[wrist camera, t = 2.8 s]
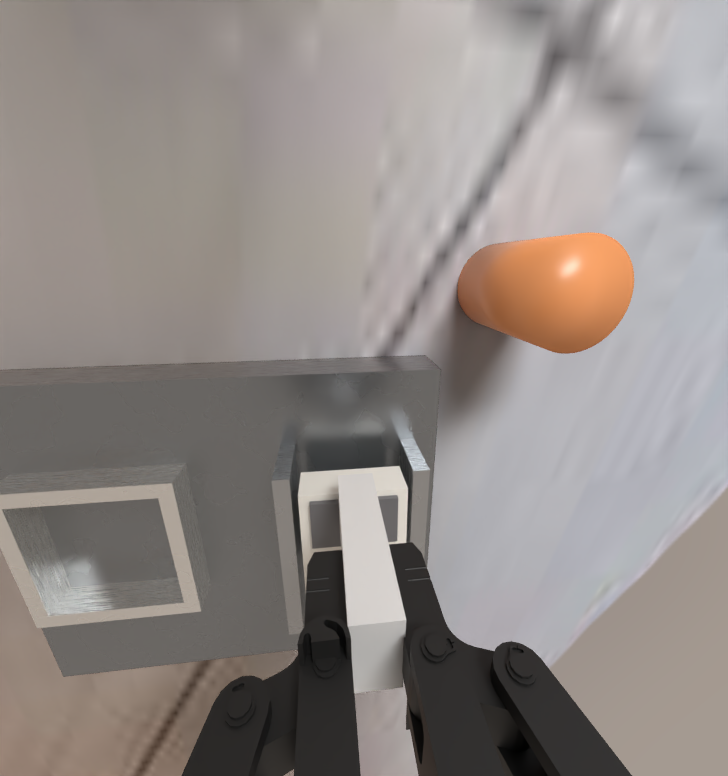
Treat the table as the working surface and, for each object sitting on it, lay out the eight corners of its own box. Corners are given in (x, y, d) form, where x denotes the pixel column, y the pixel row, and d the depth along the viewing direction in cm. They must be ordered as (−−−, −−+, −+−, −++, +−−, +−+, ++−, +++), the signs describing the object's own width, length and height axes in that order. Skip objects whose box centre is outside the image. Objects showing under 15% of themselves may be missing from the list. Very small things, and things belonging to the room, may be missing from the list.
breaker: (300, 472, 17) (297, 500, 15) (399, 465, 18) (409, 491, 16) (311, 608, 20) (309, 647, 18) (396, 599, 21) (404, 636, 18)
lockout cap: (461, 243, 19) (532, 232, 13) (539, 243, 20) (647, 232, 13) (454, 326, 21) (514, 355, 14) (527, 324, 21) (618, 351, 15)
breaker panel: (-9, 370, 19) (-158, 418, 13) (425, 355, 21) (463, 389, 15) (92, 631, 25) (23, 739, 20) (412, 597, 28) (435, 685, 22)
